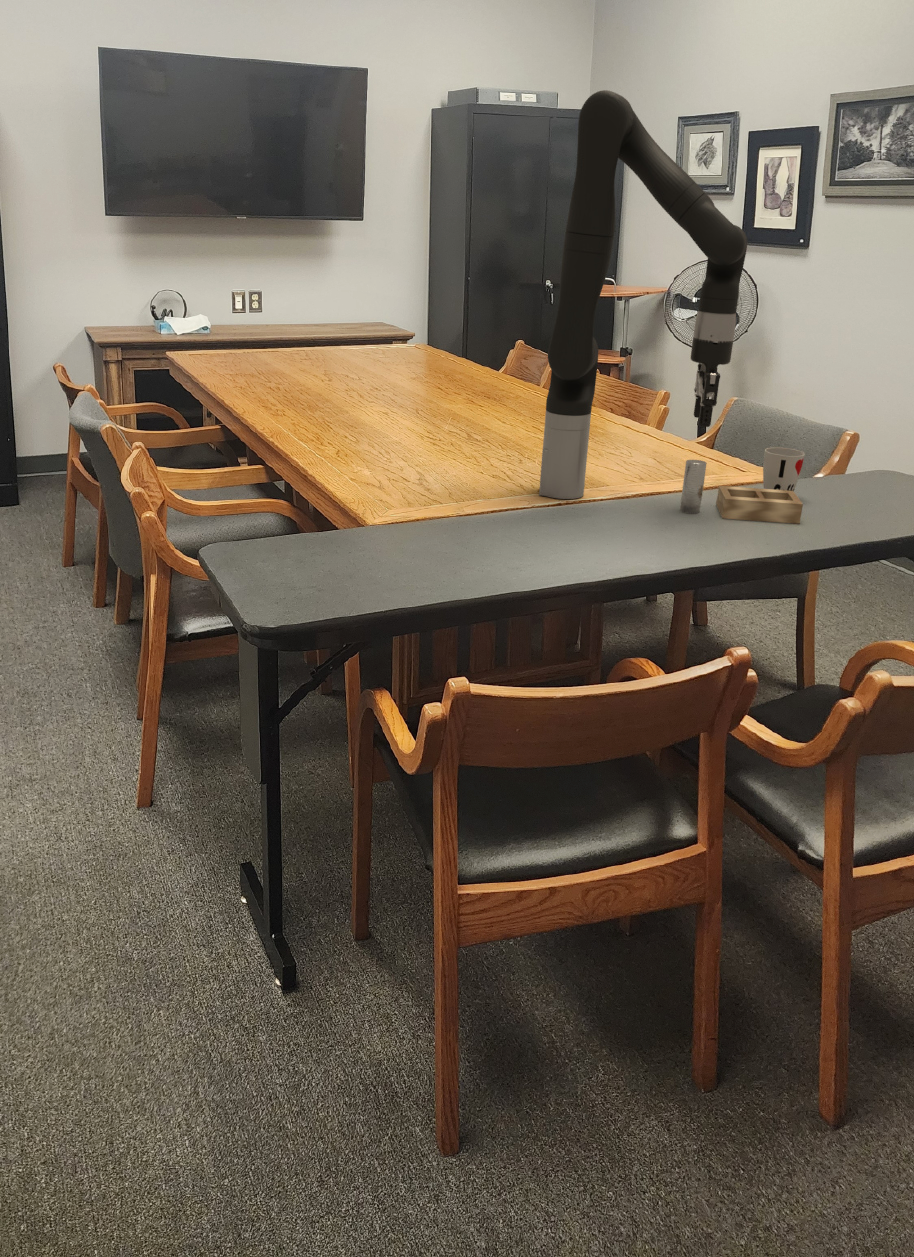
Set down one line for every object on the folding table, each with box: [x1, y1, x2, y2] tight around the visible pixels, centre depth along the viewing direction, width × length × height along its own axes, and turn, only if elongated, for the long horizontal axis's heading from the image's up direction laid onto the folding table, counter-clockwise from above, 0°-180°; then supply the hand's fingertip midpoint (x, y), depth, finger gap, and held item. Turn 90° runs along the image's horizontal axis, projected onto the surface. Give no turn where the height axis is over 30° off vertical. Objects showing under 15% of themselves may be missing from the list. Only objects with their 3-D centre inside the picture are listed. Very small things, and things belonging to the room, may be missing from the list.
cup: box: [762, 447, 806, 492], centre depth 224 cm, size 8×8×10 cm
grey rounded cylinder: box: [679, 459, 707, 515], centre depth 212 cm, size 4×4×10 cm
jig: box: [715, 485, 804, 525], centre depth 213 cm, size 15×10×4 cm, turn 85°
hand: (701, 421), depth 207 cm, fingers open, 8 cm apart
